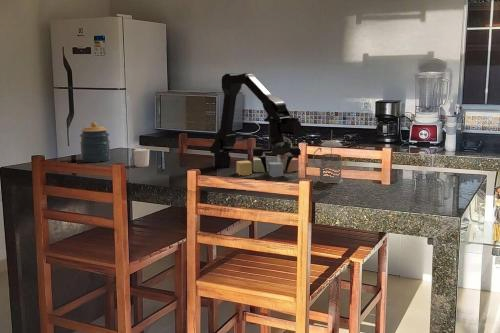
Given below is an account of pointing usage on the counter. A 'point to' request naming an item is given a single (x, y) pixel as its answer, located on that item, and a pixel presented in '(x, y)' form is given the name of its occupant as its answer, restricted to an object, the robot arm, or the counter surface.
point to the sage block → (258, 165)
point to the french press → (330, 162)
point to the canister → (94, 144)
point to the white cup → (141, 157)
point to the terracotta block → (291, 165)
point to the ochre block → (244, 167)
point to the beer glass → (286, 153)
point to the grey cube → (275, 169)
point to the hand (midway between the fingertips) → (275, 173)
